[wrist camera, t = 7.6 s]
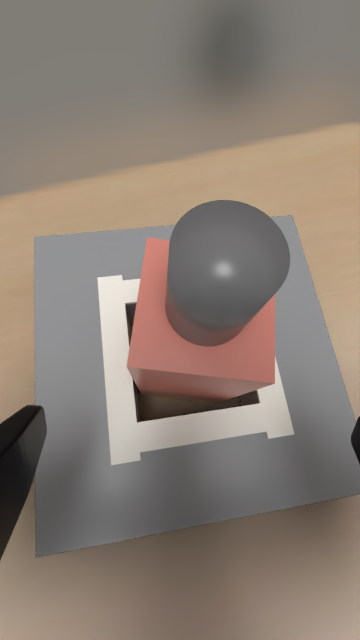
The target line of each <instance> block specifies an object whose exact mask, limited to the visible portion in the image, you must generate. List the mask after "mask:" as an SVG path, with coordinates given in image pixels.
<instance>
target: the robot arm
mask: <svg viewBox="0 0 360 640" xmlns="http://www.w3.org/2000/svg"><path fill="white" fill-rule="evenodd" d="M46 435H47V425H46V418H45V412H44V408H43V406H41V405H27V406H25V407H23V408H22V409H21V410H19V411H18V412H16V413H15V414H13V415H12V416H11V417H9V418H8V419H6V420H5V421H3V422H2V423H1V424H0V560H1V558H2V555H3V553H4V551H5V548H6V546H7V543H8V541H9V539H10V536H11V534H12V532H13V529H14V527H15V525H16V522H17V520H18V517H19V515H20V513H21V510H22V508H23V506H24V503H25V501H26V498H27V496H28V493H29V491H30V488H31V485H32V481H33V478H34V475H35V472H36V468H37V465H38V462H39V458H40V455H41V452H42V448H43V445H44V442H45V439H46ZM351 444H352V447H353V449H354V452H355V454H356V457H357V459H358V462H359V464H360V417H358V419H357V422H356V424H355V427H354V429H353V432H352V434H351Z"/></svg>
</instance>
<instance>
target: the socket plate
mask: <svg viewBox="0 0 360 640" xmlns="http://www.w3.org/2000/svg"><path fill="white" fill-rule="evenodd" d="M270 218H271V219H272V220H273V221H274V222H275V223H276V224H277V225H278V226H279V228H280V229H281V231H282V232H283V234H284V236H285V238H286V241H287V243H288V247H289V251H290V267H289V272H288V275H287V277H286V280H285V281H284V283H283V285H282V286H281V288H280V289H279V290H278V291H277V292H276V293H275V384H272V385H269V386H266V387H263V388H260V389H257V390H254V391H252V392H249V393H246V394H243V395H240V400H241V405H242V406H240V407H233V408H227V409H220V410H214V411H207V412H201V413H194V414H188V415H181V416H175V417H168V418H162V419H156V420H149V421H143V422H141V421H140V412H139V402H138V393H137V385H136V383H135V382H134V380H133V378H132V376H131V374H130V372H129V370H128V369H127V361H128V354H129V348H130V342H131V325H130V323H134V316H135V310H136V304H137V297H138V291H139V285H140V278H141V272H142V266H143V259H144V253H145V247H146V240H147V237H149V238H156V239H164V240H170V237H171V234H172V232H173V229H174V227H175V226H176V225H170V226H158V227H147V228H135V229H123V230H111V231H99V232H87V233H76V234H64V235H52V236H40V237H34V334H35V405H41V406H43V408H44V412H45V418H46V425H47V435H46V439H45V442H44V445H43V448H42V452H41V455H40V458H39V462H38V465H37V468H36V472H35V532H36V558H37V557H42V556H47V555H52V554H57V553H62V552H67V551H73V550H78V549H83V548H88V547H93V546H98V545H103V544H108V543H113V542H118V541H124V540H129V539H134V538H139V537H144V536H149V535H154V534H159V533H164V532H169V531H175V530H180V529H185V528H190V527H195V526H200V525H205V524H210V523H215V522H220V521H226V520H231V519H236V518H241V517H246V516H251V515H256V514H261V513H266V512H271V511H277V510H282V509H287V508H292V507H297V506H302V505H307V504H312V503H317V502H322V501H328V500H333V499H338V498H343V497H348V496H353V495H358V494H360V464H359V462H358V459H357V457H356V454H355V452H354V449H353V447H352V444H351V434H352V432H353V429H354V427H355V424H356V421H355V418H354V415H353V411H352V408H351V405H350V402H349V398H348V395H347V392H346V388H345V385H344V382H343V379H342V375H341V372H340V369H339V366H338V362H337V359H336V356H335V353H334V349H333V346H332V343H331V339H330V336H329V333H328V330H327V326H326V323H325V320H324V317H323V313H322V310H321V307H320V303H319V300H318V297H317V294H316V290H315V287H314V284H313V281H312V277H311V274H310V271H309V267H308V264H307V261H306V258H305V254H304V251H303V248H302V245H301V241H300V238H299V235H298V231H297V228H296V225H295V222H294V218H293V215H289V216H277V217H270Z"/></svg>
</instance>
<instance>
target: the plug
mask: <svg viewBox="0 0 360 640" xmlns="http://www.w3.org/2000/svg"><path fill="white" fill-rule="evenodd" d="M289 267H290V251H289V247H288V243H287V241H286V238H285V236H284V234H283V232H282V231H281V229H280V228H279V226H278V225H277V224H276V223H275V222H274V221H273V220H272V219H271V218H270V217H269V216H268V215H266V214H265V213H264V212H262V211H261V210H259V209H257V208H255V207H253V206H251V205H248V204H245V203H242V202H237V201H230V200H217V201H211V202H207V203H203V204H201V205H198V206H196V207H194V208H193V209H191V210H190V211H188V212H187V213H186V214H185V215H184V216H183V217H181V219H180V220H179V221H178V222H177V224H176V226H175V227H174V229H173V232H172V234H171V237H170V240H164V239H156V238H149V237H147V240H146V247H145V253H144V259H143V266H142V272H141V278H140V285H139V291H138V297H137V304H136V310H135V316H134V323H133V329H132V335H131V342H130V348H129V354H128V361H127V369H128V370H129V372H130V374H131V376H132V378H133V380H134V382H135V383H136V385H137V387H138V389H139V391H140V393H141V394H142V396H151V397H160V398H169V399H178V400H187V401H196V402H205V403H214V404H216V403H219V402H222V401H225V400H228V399H231V398H234V397H237V396H240V395H243V394H246V393H249V392H252V391H254V390H257V389H260V388H263V387H266V386H269V385H272V384H275V293H276V292H277V291H278V290H279V289H280V288H281V286H282V285H283V283H284V281H285V280H286V277H287V275H288V272H289Z"/></svg>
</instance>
